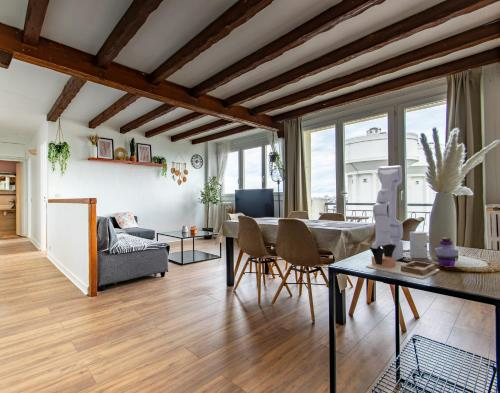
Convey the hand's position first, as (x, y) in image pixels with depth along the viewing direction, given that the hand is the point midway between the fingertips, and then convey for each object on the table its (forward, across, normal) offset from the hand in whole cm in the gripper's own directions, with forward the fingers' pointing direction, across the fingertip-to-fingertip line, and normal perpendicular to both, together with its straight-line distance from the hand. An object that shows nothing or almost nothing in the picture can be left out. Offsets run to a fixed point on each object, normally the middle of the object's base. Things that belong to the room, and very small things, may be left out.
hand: (383, 262), depth 118 cm
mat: (+2, +2, -6) cm, 7 cm away
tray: (+1, +3, -12) cm, 13 cm away
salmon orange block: (+1, 0, 0) cm, 1 cm away
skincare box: (+2, +27, -3) cm, 27 cm away
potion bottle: (+2, +19, -17) cm, 26 cm away
